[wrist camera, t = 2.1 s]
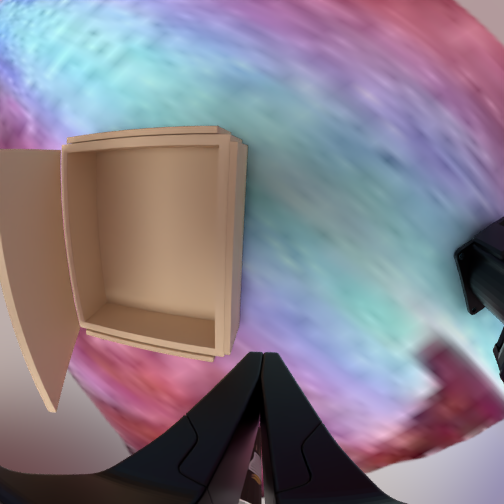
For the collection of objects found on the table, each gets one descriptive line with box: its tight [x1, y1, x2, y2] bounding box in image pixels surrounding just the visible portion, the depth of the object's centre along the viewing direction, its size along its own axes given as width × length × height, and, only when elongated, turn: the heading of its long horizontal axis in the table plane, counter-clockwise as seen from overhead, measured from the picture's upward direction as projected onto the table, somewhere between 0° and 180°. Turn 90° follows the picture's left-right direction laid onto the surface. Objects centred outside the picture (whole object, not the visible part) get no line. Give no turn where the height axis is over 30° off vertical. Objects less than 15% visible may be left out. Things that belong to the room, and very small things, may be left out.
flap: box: [0, 149, 80, 412], centre depth 13 cm, size 1×13×9 cm, turn 176°
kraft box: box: [61, 126, 248, 362], centre depth 19 cm, size 12×15×4 cm
